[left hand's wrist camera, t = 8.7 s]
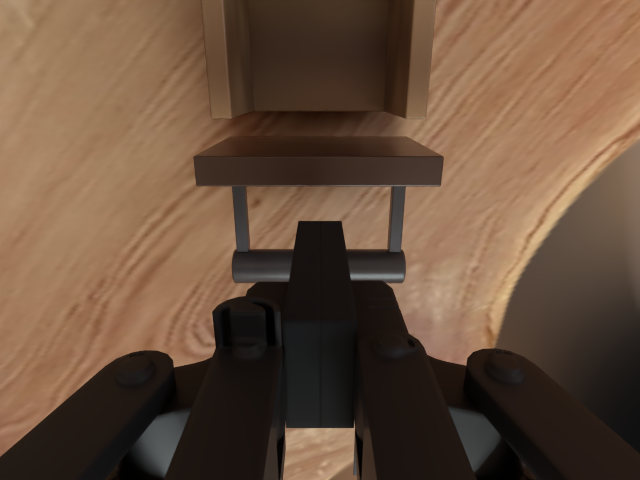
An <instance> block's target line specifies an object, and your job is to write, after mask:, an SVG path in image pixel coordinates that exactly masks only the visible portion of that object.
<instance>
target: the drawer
mask: <svg viewBox="0 0 640 480" xmlns="http://www.w3.org/2000/svg"><path fill="white" fill-rule="evenodd" d="M201 7H202V19H203V30H204V42H205V53H206V64H207V76H208V87H209V99H210V110H211V118H213V119H231V118H234V117H237V116H240V115H243V114H246V113H249V112H252V111H385V112H388V113H391V114H394V115H397V116H400V117H402V118H405V119H425V118H426V113H427V102H428V90H429V79H430V67H431V56H432V44H433V33H434V21H435V10H436V0H201ZM193 158H194V168H195V177H196V185H197V186H232V193H233V206H234V219H235V233H236V246H237V249H236V250H235V251H234V253H233V257H232V276H233V280H234V282H235V283H257V282H289V277H290V271H291V265H292V258H293V252H294V249H250V238H249V222H248V206H247V190H246V186H391V198H390V214H389V230H388V247H387V248H388V249H346V252H347V258H348V265H349V271H350V277H351V280H382V281H383V282H385V283H403V282H404V279H405V273H406V261H405V255H404V252H403V250H401V242H402V228H403V215H404V202H405V188H406V186H441V179H442V170H443V160H444V157H443V156H441V155H440V154H438V153H436V152H434V151H432V150H430V149H429V148H427V147H425V146H423V145H421V144H419V143H418V142H416V141H414V140H412V139H410V138H408V137H310V136H231V137H229V138H227V139H225V140H223V141H222V142H220V143H218V144H216V145H214V146H212V147H210V148H208V149H207V150H205V151H203V152H201V153H199V154H197V155H195V156H194V157H193Z"/></svg>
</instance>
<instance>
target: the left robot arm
mask: <svg viewBox="0 0 640 480" xmlns="http://www.w3.org/2000/svg"><path fill="white" fill-rule="evenodd" d="M212 314H213V324H214V333H215V343H216V349H215V352H214V354H213V357H211V358H209V359H207V360H204V361H201V362H197V363H194V364H189V365H184V366H179V367H175V368H174V365H173V360H172V359H171V358H170V357H169V356H168V354H165V353H162V352H159V351H146V350H144V351H139V352H133V353H130V354H127V355H125V356H122V357H120V358H117V359H115V360H114V361H112V362H111V363H109V364H108V365H106V366H105V367H104V368H103V369H102V370H100V371H99V372H98V373H97V374H96V375H95V376H93V377H92V378H91V379H90V380H89V381H88V382H87V383H85V384H84V385H83V386H82V387H81V388H80V389H78V390H77V391H76V392H75V393H74V394H73V395H71V396H70V397H69V398H68V399H67V400H66V401H65V402H63V403H62V404H61V405H60V406H59V407H58V408H56V409H55V410H54V411H53V412H52V413H51V414H49V415H48V416H47V417H46V418H45V419H44V420H43V421H41V422H40V423H39V424H38V425H37V426H36V427H34V428H33V429H32V430H31V431H30V432H29V433H27V434H26V435H25V436H24V437H23V438H22V439H21V440H19V441H18V442H17V443H16V444H15V445H14V446H12V447H11V448H10V449H9V450H8V451H7V452H6V453H4V454H3V455H2V456H1V457H0V480H283V471H284V460H285V449H286V446H285V423H286V428H354V421H355V446H354V473H353V475H357V480H640V454H639V453H638V452H637V451H636V450H635V449H633V448H632V447H631V446H630V445H629V444H627V443H626V442H625V441H624V440H623V439H622V438H621V437H619V436H618V435H617V434H616V433H615V432H614V431H612V430H611V429H610V428H609V427H608V426H607V425H605V424H604V423H603V422H602V421H601V420H600V419H598V418H597V417H596V416H595V415H594V414H593V413H591V412H590V411H589V410H588V409H587V408H586V407H584V406H583V405H582V404H581V403H580V402H579V401H577V400H576V399H575V398H574V397H573V396H572V395H570V394H569V393H568V392H567V391H566V390H564V389H563V388H562V387H561V386H560V385H559V384H557V383H556V382H555V381H554V380H553V379H552V378H551V377H549V376H548V375H547V374H546V373H545V372H544V371H542V370H541V369H540V368H539V367H538V366H537V365H535V364H534V363H532V362H531V361H529V360H528V359H526V358H525V357H523V356H521V355H518V354H515V353H513V352H511V351H507V350H502V349H481V350H478V351H475V352H473V353H472V354H471V355H470V356H469V357H468V358H467V365H466V366H465V365H460V364H455V363H450V362H445V361H442V360H438V359H435V358H433V357H431V356H428V355H427V354H426V351H425V349H424V347H423V345H422V344H421V343H420V341H419V340H418V339H416V338H415V337H413V336H411V335H410V334H409V333H408V330H407V328H406V325H405V322H404V319H403V317H402V314H401V311H400V309H399V306H398V303H397V300H396V297H395V295H394V292H393V289H392V288H391V287H390V286H388V285H387V284H386V283H385V282H383V281H382V280H351V277H350V271H349V265H348V258H347V252H346V246H345V240H344V234H343V228H342V222H341V221H299V222H298V228H297V234H296V240H295V246H294V252H293V258H292V265H291V271H290V277H289V282H257V283H256V284H255V285H253V286H252V287H251V288H250V289H248V291H247V293H246V296H243V297H237V298H233V299H230V300H227V301H225V302H223V303H221V304H219V305H218V306H217V307H216V308H215V309H214V310H213V312H212Z"/></svg>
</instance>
